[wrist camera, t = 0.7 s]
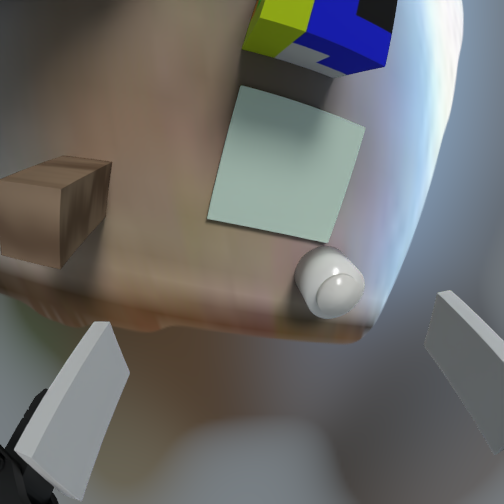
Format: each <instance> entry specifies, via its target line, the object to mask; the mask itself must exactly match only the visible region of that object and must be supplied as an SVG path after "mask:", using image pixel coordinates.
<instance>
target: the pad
mask: <svg viewBox="0 0 504 504" xmlns="http://www.w3.org/2000/svg"><path fill="white" fill-rule="evenodd" d="M364 132H365V127H363V126H360V125H358V124H356V123H353V122H351V121H348V120H346V119H343V118H341V117H338V116H336V115H333V114H331V113H328V112H325V111H323V110H320V109H317V108H314V107H312V106H309V105H306V104H303V103H300V102H297V101H294V100H291V99H288V98H285V97H281V96H278V95H275V94H271V93H268V92H264V91H261V90H257V89H253V88H250V87H246V86H242V85H241V86H240V89H239V93H238V96H237V100H236V103H235V107H234V110H233V114H232V118H231V121H230V125H229V129H228V133H227V136H226V140H225V144H224V148H223V152H222V156H221V160H220V164H219V168H218V172H217V176H216V180H215V184H214V189H213V193H212V197H211V201H210V206H209V210H208V215H207V219H211V220H216V221H221V222H226V223H232V224H237V225H242V226H247V227H252V228H257V229H262V230H267V231H272V232H276V233H281V234H286V235H291V236H296V237H300V238H305V239H310V240H315V241H319V242H324V243H328V241H329V238H330V236H331V233H332V230H333V227H334V225H335V222H336V219H337V216H338V213H339V210H340V207H341V204H342V202H343V199H344V196H345V193H346V190H347V187H348V184H349V181H350V177H351V174H352V171H353V168H354V165H355V162H356V159H357V155H358V152H359V149H360V145H361V142H362V139H363V135H364Z"/></svg>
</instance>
